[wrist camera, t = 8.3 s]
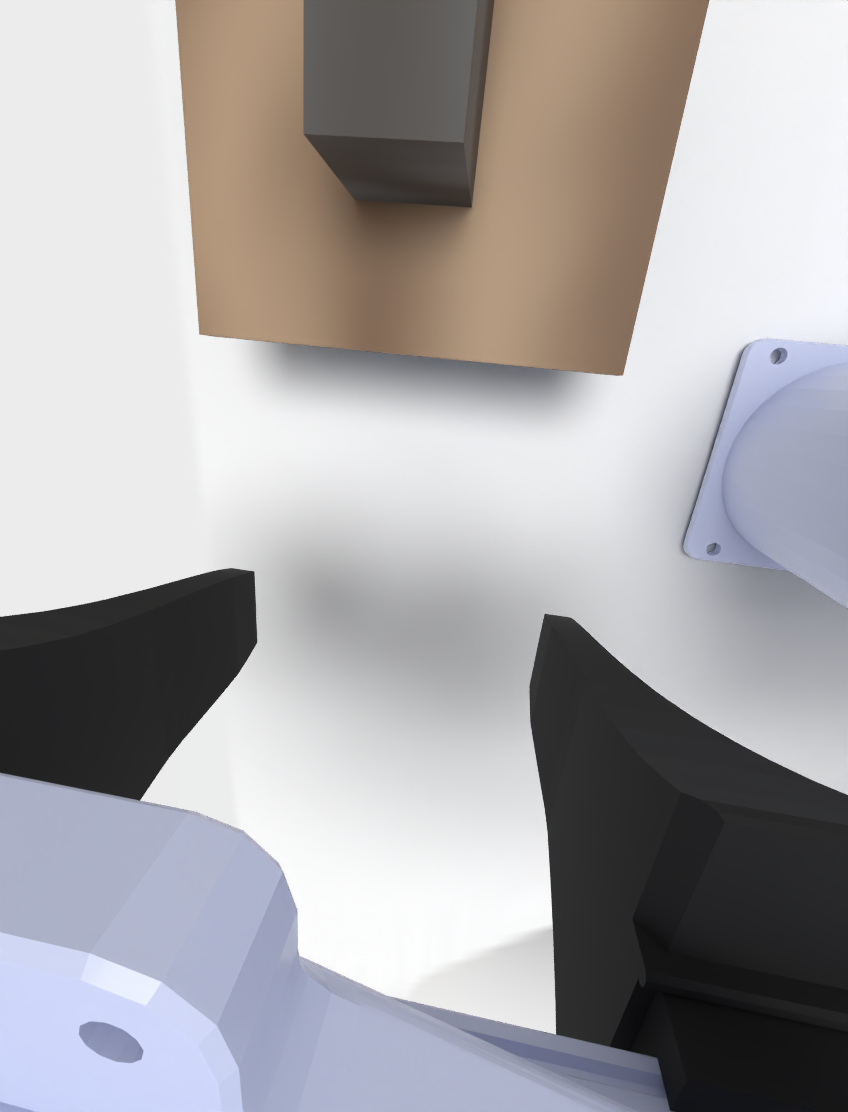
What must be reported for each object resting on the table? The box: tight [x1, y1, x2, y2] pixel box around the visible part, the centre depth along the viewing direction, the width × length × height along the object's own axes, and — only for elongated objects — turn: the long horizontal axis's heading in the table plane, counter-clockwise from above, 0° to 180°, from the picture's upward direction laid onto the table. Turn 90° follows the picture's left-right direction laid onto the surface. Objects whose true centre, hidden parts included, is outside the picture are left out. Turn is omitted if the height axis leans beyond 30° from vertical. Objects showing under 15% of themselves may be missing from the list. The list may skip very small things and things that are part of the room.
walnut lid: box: [175, 0, 709, 376], centre depth 10 cm, size 12×12×4 cm
